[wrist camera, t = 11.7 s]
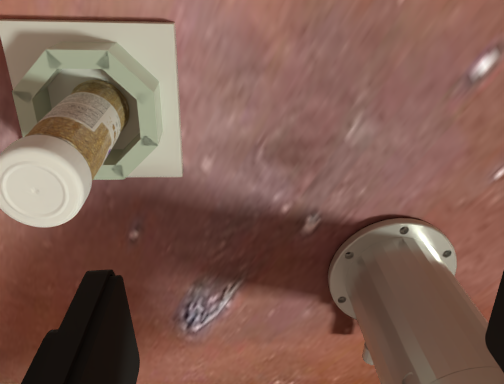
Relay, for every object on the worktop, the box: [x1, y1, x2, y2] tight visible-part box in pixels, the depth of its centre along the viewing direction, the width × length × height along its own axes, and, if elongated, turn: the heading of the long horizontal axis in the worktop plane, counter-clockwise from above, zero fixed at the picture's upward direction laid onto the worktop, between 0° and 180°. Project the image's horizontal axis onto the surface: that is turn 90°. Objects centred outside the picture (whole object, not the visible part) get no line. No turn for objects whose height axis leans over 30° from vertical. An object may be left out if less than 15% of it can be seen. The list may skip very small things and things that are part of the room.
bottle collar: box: [0, 19, 183, 180], centre depth 32 cm, size 12×12×4 cm
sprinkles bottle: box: [0, 80, 129, 227], centre depth 27 cm, size 5×5×14 cm
